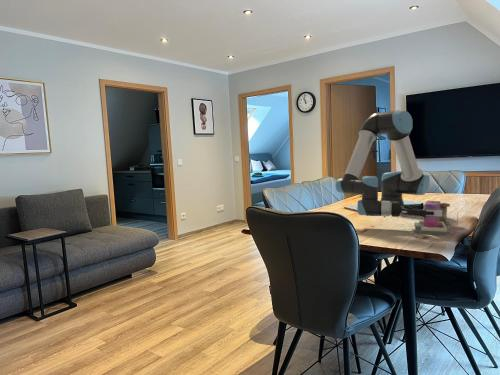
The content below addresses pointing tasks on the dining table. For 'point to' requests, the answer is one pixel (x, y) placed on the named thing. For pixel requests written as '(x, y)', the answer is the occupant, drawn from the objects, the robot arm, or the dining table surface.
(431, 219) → the box
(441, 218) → the bobbin
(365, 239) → the dining table surface
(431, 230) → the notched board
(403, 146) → the robot arm
